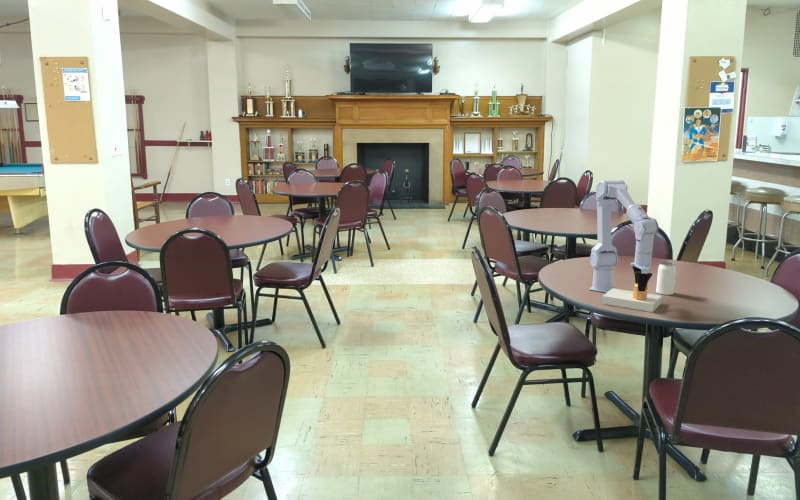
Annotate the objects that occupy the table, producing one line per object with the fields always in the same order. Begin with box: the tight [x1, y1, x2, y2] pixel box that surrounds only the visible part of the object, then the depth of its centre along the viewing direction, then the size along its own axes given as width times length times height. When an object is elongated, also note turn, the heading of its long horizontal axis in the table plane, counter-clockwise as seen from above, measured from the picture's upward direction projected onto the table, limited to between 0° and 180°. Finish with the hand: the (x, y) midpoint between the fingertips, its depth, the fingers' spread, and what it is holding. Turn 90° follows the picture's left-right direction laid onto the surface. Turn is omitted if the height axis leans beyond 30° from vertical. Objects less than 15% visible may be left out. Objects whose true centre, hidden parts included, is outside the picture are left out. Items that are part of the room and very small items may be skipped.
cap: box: [632, 283, 649, 300], centre depth 231 cm, size 5×5×5 cm
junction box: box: [601, 287, 663, 313], centre depth 234 cm, size 14×18×6 cm
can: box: [655, 261, 677, 296], centre depth 249 cm, size 6×6×12 cm
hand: (640, 288), depth 230 cm, fingers open, 7 cm apart
